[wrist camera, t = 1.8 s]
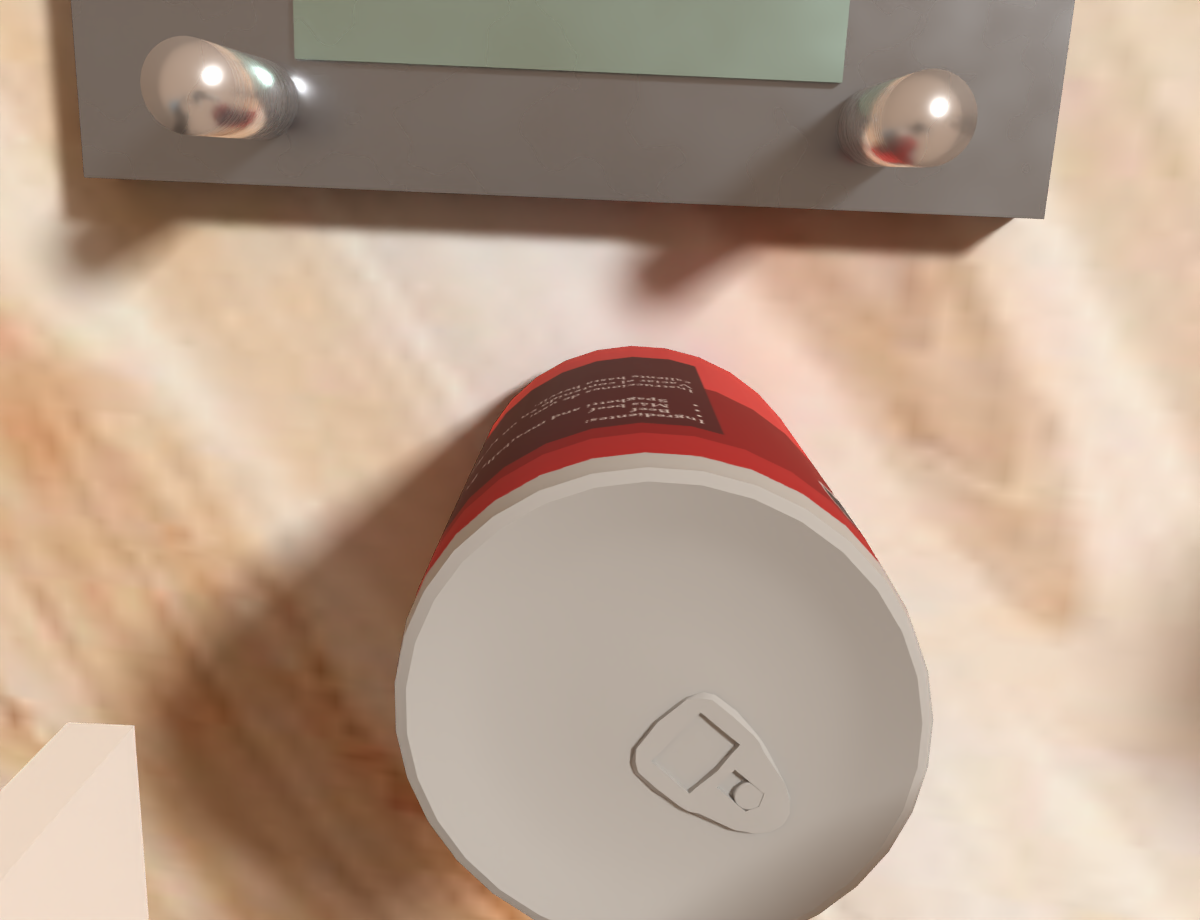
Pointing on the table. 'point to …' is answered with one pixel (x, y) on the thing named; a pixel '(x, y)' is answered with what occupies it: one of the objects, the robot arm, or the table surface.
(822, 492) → the canned food
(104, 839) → the robot arm
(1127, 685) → the table surface
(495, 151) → the plate
